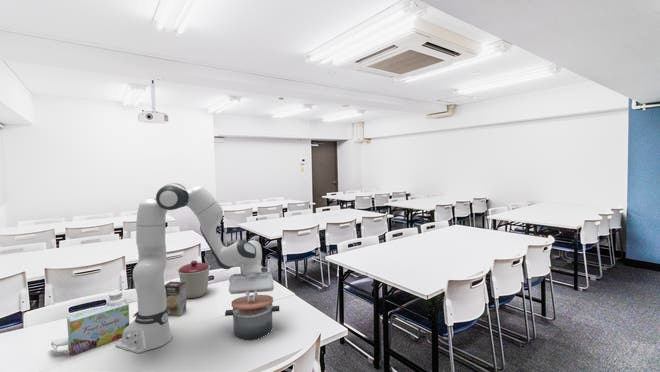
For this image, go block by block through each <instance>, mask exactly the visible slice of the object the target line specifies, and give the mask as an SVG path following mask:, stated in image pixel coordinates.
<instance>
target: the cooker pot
mask: <svg viewBox="0 0 660 372" xmlns="http://www.w3.org/2000/svg"><path fill="white" fill-rule="evenodd" d="M274 312H275V313H276V312H280V305H273V303H272V304H270V305H268V306H265V307H261V308H256V309H236V308H233V307H232V309H227V310H225V312H224V316H225V317H229V316H231V317H232V323H233V335H234V337H235V338H237V339H238V338H239V339H238V340H241V339H243V341H254V339H255V340H258V338H259V339H262V338H264V337H263V336H265V335H266V336H268V335H269V334H270V333H271V332H272V331H271V330H273V329H272V328H273V324H274V323H273V322H274V320H273V313H274ZM268 333H269V334H268ZM267 334H268V335H267ZM266 336H265V337H266ZM261 337H262V338H261Z"/></svg>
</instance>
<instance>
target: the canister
mask: <svg viewBox="0 0 660 372" xmlns="http://www.w3.org/2000/svg"><path fill="white" fill-rule="evenodd" d="M210 268H211V266H210V265H209V264H208V263H205V262H198V261H197V260H192V261H191V262H190V263H187V264H185V265H183V266H181V267H180V268H178V269H177V274H178V275H179V282H186V299H196V298H200V297H202V296H204V295H206V293H207V291H208V286H209V273H210Z"/></svg>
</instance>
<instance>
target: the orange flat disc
mask: <svg viewBox="0 0 660 372" xmlns="http://www.w3.org/2000/svg"><path fill="white" fill-rule="evenodd" d="M253 296H254V294H251V295H250V294H249V297H253ZM273 302H274V298H273V296H271V295H269V294H257V296H256V297H255V302H248V298H247V296H246V295H245V296H240V297H237V298H235V299H233V300H232V301H231V307H232V309H233V308H236V309H256V308H261V307H265V306H268V305H270V304H272V305H273Z"/></svg>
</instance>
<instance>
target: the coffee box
mask: <svg viewBox="0 0 660 372" xmlns="http://www.w3.org/2000/svg"><path fill="white" fill-rule="evenodd" d="M165 289H166V300H167V306H168V317H170V316H172V317H181V316H182V315H184V314H185V313H186V312H187V298H186V282H180V281H168V282H167V283H165Z"/></svg>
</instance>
